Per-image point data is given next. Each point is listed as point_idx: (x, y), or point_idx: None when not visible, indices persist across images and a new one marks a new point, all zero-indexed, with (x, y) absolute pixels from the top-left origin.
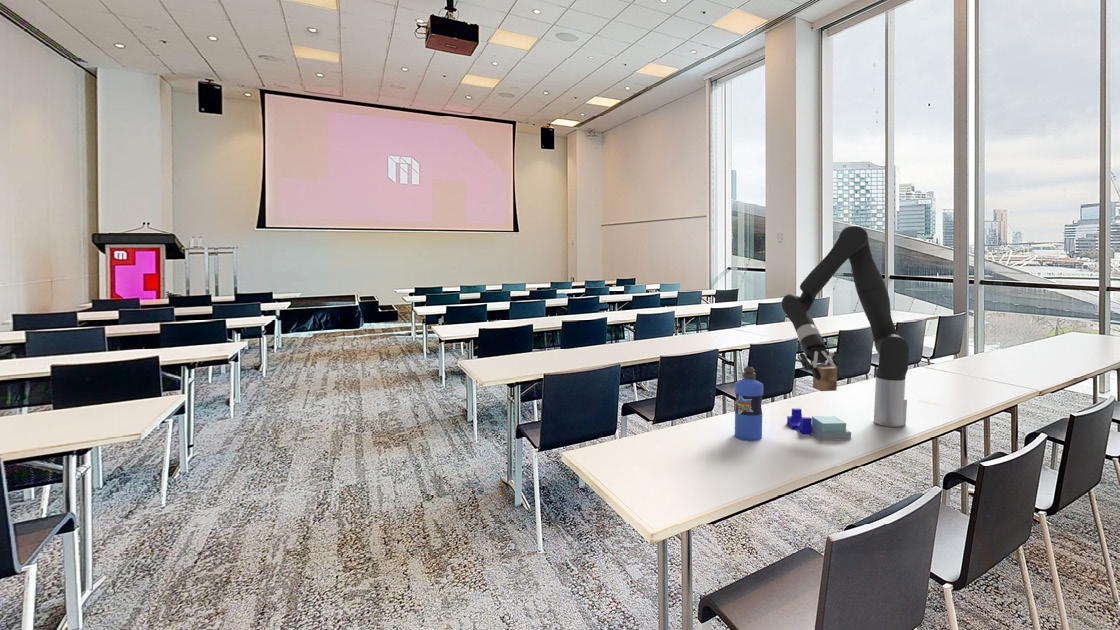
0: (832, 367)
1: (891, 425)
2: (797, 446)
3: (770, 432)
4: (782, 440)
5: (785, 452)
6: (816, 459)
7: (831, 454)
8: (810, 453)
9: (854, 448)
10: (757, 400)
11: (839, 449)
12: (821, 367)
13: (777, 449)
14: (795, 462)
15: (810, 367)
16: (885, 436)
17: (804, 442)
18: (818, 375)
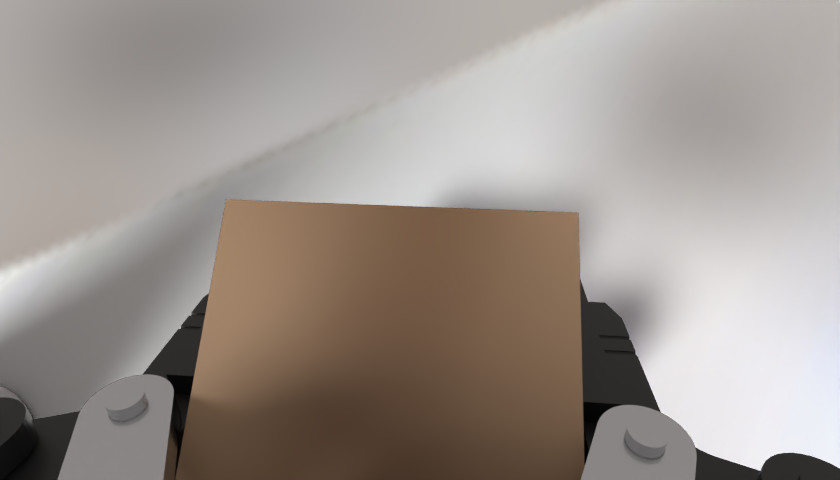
0: (275, 271)
1: (3, 390)
2: (708, 198)
3: (786, 448)
4: (758, 295)
5: (805, 133)
6: (687, 43)
7: (587, 85)
8: (682, 107)
9: (434, 136)
10: None
11: (513, 134)
12: (508, 335)
13: (835, 174)
14: (800, 24)
15: (743, 467)
16: (166, 261)
17: (642, 246)
18: (582, 296)
